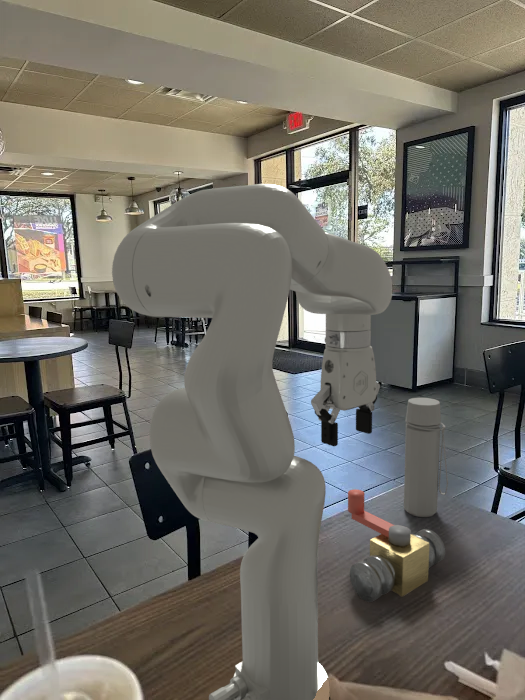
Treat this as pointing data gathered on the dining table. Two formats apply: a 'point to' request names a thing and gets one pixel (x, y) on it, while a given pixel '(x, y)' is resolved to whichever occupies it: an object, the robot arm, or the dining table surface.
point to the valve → (396, 565)
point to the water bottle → (423, 456)
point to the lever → (376, 520)
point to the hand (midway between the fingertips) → (347, 437)
